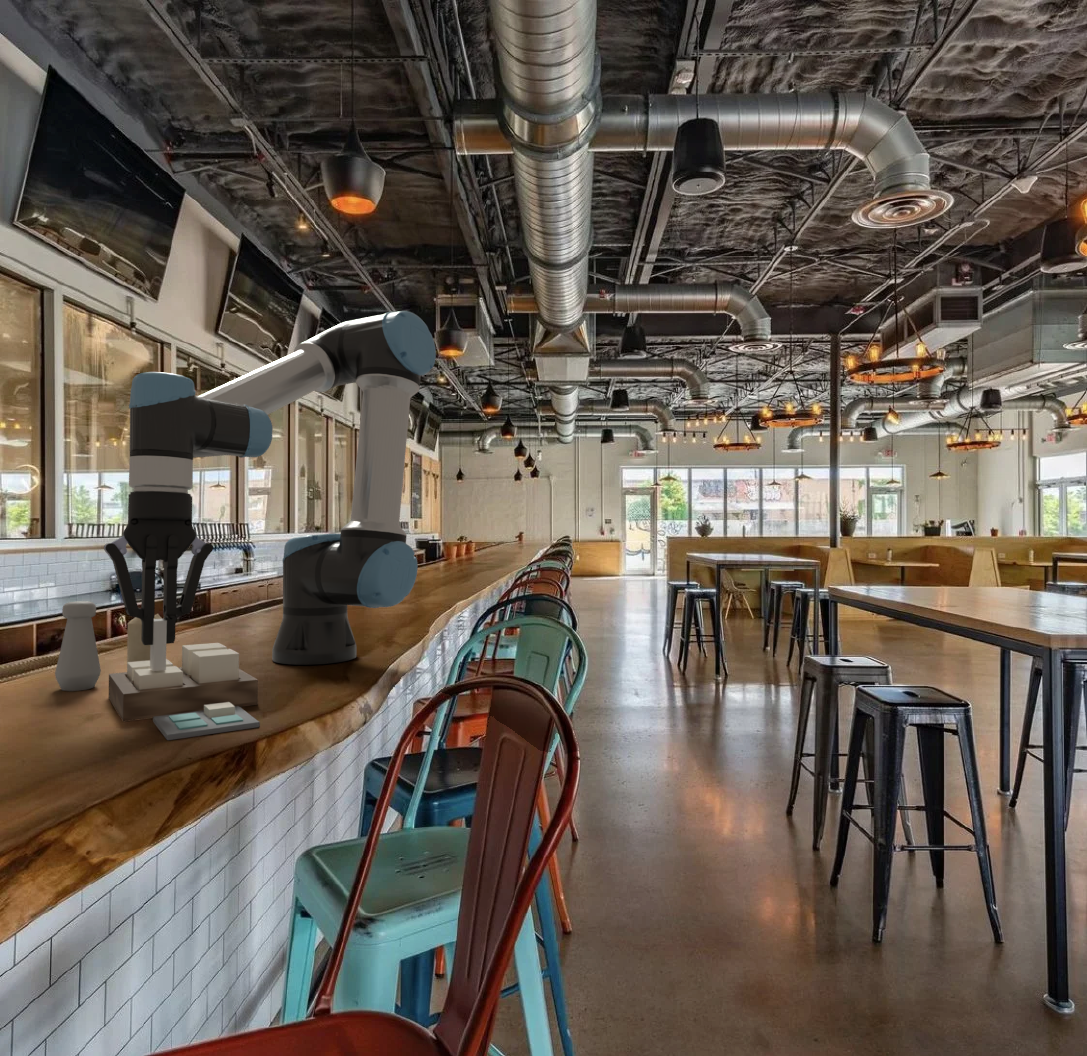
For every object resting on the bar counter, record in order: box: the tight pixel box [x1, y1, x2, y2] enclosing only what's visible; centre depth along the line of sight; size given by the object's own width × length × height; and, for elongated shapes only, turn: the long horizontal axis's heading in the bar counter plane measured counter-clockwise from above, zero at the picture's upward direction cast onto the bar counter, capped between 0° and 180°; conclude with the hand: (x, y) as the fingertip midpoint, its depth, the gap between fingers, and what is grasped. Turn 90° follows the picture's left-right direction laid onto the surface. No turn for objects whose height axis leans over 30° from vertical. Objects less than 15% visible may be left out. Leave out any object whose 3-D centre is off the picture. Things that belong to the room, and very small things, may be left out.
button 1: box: [126, 658, 174, 681], centre depth 100 cm, size 5×5×4 cm
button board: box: [108, 666, 259, 723], centre depth 100 cm, size 16×16×3 cm
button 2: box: [134, 665, 183, 690], centre depth 95 cm, size 5×5×4 cm
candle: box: [126, 613, 163, 663], centre depth 119 cm, size 6×6×10 cm
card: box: [152, 702, 260, 741], centre depth 88 cm, size 10×10×2 cm
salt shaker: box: [54, 600, 102, 692], centre depth 108 cm, size 6×6×13 cm
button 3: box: [192, 648, 240, 684], centre depth 99 cm, size 5×5×4 cm
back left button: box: [181, 642, 228, 675], centre depth 105 cm, size 5×5×4 cm
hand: (157, 668), depth 95 cm, fingers closed
